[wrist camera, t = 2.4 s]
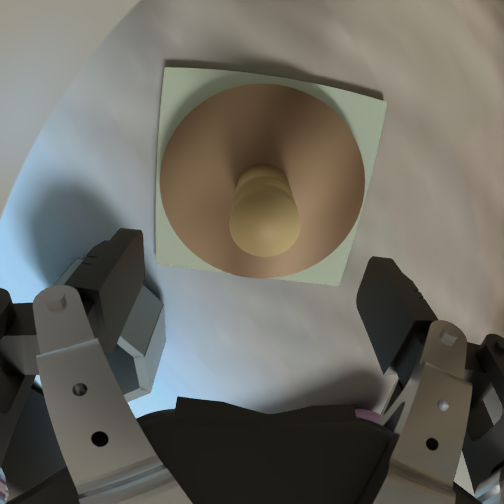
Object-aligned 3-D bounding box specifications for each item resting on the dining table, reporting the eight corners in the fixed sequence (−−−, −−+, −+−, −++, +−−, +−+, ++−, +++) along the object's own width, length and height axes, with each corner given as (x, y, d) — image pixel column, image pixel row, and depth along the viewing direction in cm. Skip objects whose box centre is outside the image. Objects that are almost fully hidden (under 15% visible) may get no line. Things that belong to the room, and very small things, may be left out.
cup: (164, 266, 22) (139, 322, 17) (168, 358, 27) (154, 412, 21) (51, 249, 21) (10, 292, 16) (73, 338, 26) (49, 383, 21)
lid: (378, 107, 16) (428, 118, 11) (334, 279, 22) (354, 339, 16) (172, 75, 15) (133, 70, 10) (162, 258, 21) (135, 314, 16)
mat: (384, 101, 16) (387, 101, 16) (337, 282, 22) (338, 286, 22) (167, 67, 15) (164, 67, 15) (158, 260, 22) (156, 263, 21)
